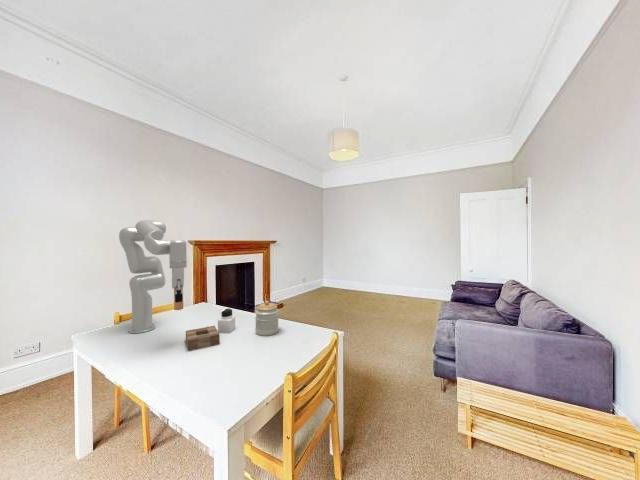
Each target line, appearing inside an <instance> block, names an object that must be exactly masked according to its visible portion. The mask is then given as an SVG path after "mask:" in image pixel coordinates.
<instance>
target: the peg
mask: <svg viewBox="0 0 640 480" xmlns="http://www.w3.org/2000/svg"><path fill="white" fill-rule="evenodd" d="M175 288H178V287H175ZM175 288H174V289H173V305H174V306H173V310H174V311H181V310H183V309H184V300H183V301H182V302H175V294H176V289H175ZM180 288H181V286H180ZM182 294H183V295H184V287H183V288H182Z"/></svg>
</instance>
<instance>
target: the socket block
mask: <svg viewBox="0 0 640 480" xmlns="http://www.w3.org/2000/svg"><path fill="white" fill-rule="evenodd" d="M220 340H221V339H220V332H218V328H217V327H216V326H215V325H211V326H206V327H205V326H204V327H200V328H193V329H188V330H185V344H186V348H187V351H188V352H191V351H194V350H195V351H196V350H200V349H203V348H208V347H213V346H217V345H220V344H221V343H220Z"/></svg>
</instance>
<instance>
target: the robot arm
mask: <svg viewBox="0 0 640 480" xmlns="http://www.w3.org/2000/svg"><path fill="white" fill-rule="evenodd" d="M166 231H167V226H166V224H165V223H164V221H160V220H149V219H148V220H147V219H143V220H139V221H138V222H136V224H135V226H127V227H124V228H122V229H121V230H120V231H119V233H118V234H119V235H118V238H119V239H118V240H119V242H120V245H121V247H122V249H123V250H124V252H125V256H126V261H127V265H128V268H129V271H130V273H132V274H137V275H135V276H133V277H131V278H130V279H129V289H130V294H131V327H130V328H129V329H128V333H130V334H142V333H147V332H150V331H153V330H154V329H155V328H156V324H155V323H153V297H152V295H151V294H150V293H149V292H148V291H152V290H158V289H162V288H163V287H165V285H166V276H165V273H164V269H163V265H162V262H161V259H160V258H159V257H157V256H163V255H165V256H166V255H168V257H169V258H168V259H169V269H171V288H172V289H173V290H174V288H175V287H178V288H175V289H176V294H175V302H182V301H183V302H184V293H183V294H182V288H183V289H184V285H185V269H186V268H187V266H188V265H187V261H188V260H187V255H188V254H187V241H186V240H178V239H163V238H164V236H165V233H166ZM137 242H143V245H144V248H145V249H146V250H147V252H149V253H150V254H152V255H154V256H146V255H145V252H144V249H143V247H141V246H140V245H139V244H138V243H137ZM180 286H181V288H180Z"/></svg>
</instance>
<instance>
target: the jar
mask: <svg viewBox="0 0 640 480" xmlns="http://www.w3.org/2000/svg"><path fill="white" fill-rule="evenodd" d="M254 312H255V317H254V319H255V328H254V329H255V331H254V332H255V334H256V335H258V336H264V337H265V336H273V335H275V334H277V333H278V332H279V328H280V326H279V314H278V313H279V308H278V305H276V304H275V303H273V302H270V300H265V301H264V302H263V303H260V304H259V305H257V306H256V310H255V311H254Z"/></svg>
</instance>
